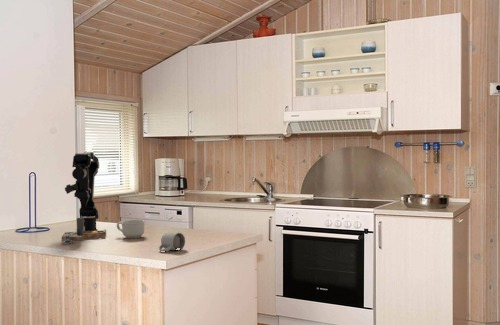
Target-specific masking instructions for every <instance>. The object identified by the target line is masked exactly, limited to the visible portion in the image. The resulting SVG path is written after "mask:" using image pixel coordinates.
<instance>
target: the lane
mask: <svg viewBox="0 0 500 325" xmlns="http://www.w3.org/2000/svg"><path fill="white" fill-rule="evenodd" d="M96 231H97V232H98V233H92V232H93V231H85V232H84V235H82V237H70V241H77V240H78V241H80V240H84V241H85V240H95V239H96V240H98V238H102V239H106V237H107V229H105V228H104V229H103V230H96ZM73 232H74V231H67V232H66V231H65V232H64V233H63V234H69V233H73ZM63 234H62V235H61V242H64V241H65V237H63ZM75 235H77V234H75Z"/></svg>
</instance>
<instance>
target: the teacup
mask: <svg viewBox="0 0 500 325" xmlns="http://www.w3.org/2000/svg"><path fill="white" fill-rule="evenodd" d="M120 224H121V226H120ZM116 228H117V229H118V231H120V232H121V233H122V235H123V236H124V237H125V238H126V239H130V240H134V239H133V238H135V239H139V238H141V237H142V236H143V235H144V234H145V220H144V219H128V220H127V219H126V220H124V221H119V222H117V223H116Z"/></svg>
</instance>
